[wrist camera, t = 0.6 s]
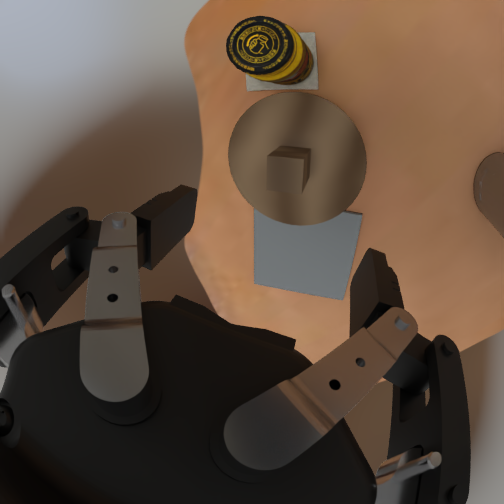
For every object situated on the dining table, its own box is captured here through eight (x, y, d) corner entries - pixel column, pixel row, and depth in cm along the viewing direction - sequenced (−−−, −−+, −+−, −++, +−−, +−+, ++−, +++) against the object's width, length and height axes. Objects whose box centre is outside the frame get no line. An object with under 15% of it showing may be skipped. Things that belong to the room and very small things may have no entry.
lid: (371, 100, 21) (379, 100, 16) (355, 230, 28) (355, 261, 23) (231, 91, 24) (202, 92, 19) (234, 212, 32) (211, 237, 27)
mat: (362, 213, 32) (362, 215, 32) (343, 297, 40) (342, 300, 39) (255, 198, 36) (254, 199, 35) (255, 281, 43) (254, 283, 43)
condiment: (318, 89, 26) (304, 82, 16) (247, 91, 28) (198, 91, 19) (315, 32, 22) (297, -2, 13) (243, 37, 25) (193, 14, 15)
